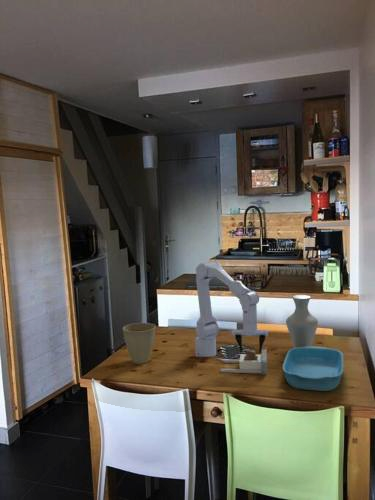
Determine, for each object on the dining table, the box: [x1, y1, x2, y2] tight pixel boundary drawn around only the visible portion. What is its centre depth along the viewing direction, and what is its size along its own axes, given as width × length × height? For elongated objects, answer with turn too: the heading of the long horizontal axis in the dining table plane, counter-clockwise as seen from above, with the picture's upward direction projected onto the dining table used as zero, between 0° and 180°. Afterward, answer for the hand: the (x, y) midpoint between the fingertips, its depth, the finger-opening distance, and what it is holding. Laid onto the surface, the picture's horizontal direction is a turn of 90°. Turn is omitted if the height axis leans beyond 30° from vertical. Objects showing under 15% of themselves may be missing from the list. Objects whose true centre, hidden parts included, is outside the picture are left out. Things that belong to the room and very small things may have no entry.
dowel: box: [245, 349, 257, 361], centre depth 183 cm, size 4×4×7 cm
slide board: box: [220, 358, 262, 374], centre depth 184 cm, size 20×16×2 cm
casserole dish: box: [282, 345, 344, 392], centre depth 173 cm, size 37×22×7 cm, turn 161°
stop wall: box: [261, 348, 268, 376], centre depth 182 cm, size 2×15×6 cm, turn 169°
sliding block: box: [238, 353, 262, 370], centre depth 183 cm, size 9×9×4 cm
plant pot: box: [122, 322, 157, 365], centre depth 199 cm, size 15×15×16 cm
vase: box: [285, 294, 319, 348], centre depth 205 cm, size 14×14×25 cm
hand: (250, 352), depth 182 cm, fingers open, 7 cm apart
